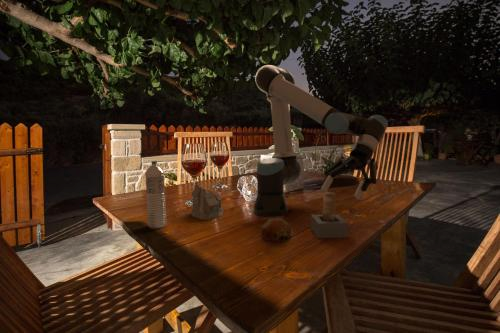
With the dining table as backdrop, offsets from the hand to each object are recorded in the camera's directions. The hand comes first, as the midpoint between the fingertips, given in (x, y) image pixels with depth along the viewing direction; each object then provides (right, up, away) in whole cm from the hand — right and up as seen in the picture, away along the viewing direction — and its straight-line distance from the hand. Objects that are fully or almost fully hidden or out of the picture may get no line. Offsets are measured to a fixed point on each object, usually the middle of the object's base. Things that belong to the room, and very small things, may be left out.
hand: (338, 194), depth 100 cm
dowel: (-4, -13, 0) cm, 14 cm away
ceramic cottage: (-49, -11, +24) cm, 56 cm away
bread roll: (-22, -14, -4) cm, 27 cm away
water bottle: (-67, -13, +9) cm, 69 cm away
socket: (-4, -13, 0) cm, 14 cm away
